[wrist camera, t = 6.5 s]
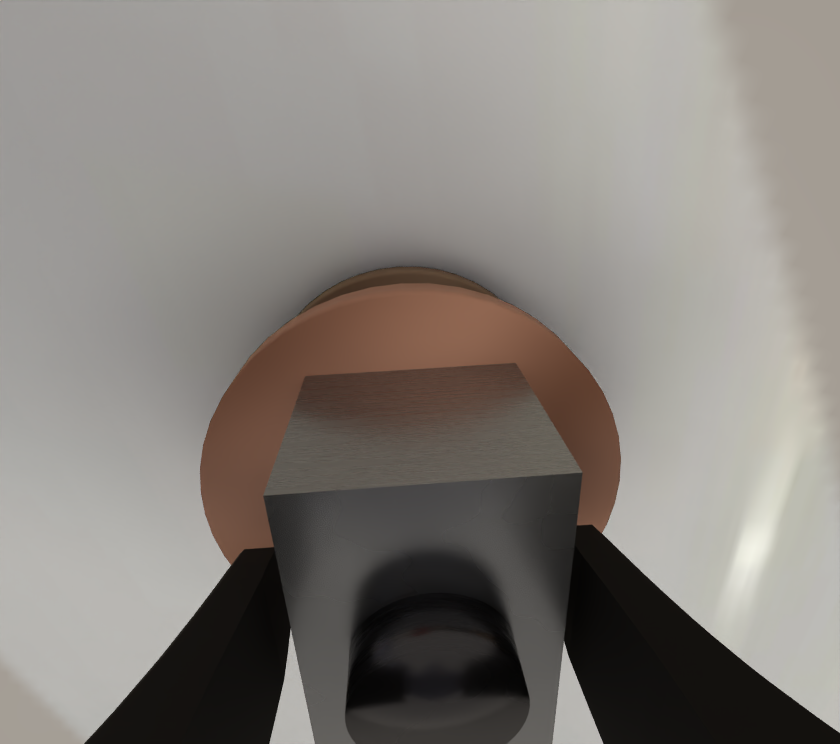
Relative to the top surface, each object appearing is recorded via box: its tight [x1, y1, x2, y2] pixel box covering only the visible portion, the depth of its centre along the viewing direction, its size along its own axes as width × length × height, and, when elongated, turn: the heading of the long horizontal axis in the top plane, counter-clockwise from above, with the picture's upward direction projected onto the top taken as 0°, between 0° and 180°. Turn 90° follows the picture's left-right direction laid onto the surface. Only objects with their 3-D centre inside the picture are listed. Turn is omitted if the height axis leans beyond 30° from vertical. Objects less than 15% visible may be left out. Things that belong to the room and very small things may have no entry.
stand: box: [200, 267, 621, 565], centre depth 14 cm, size 10×10×5 cm
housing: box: [263, 363, 583, 744], centre depth 10 cm, size 4×7×5 cm, turn 2°
